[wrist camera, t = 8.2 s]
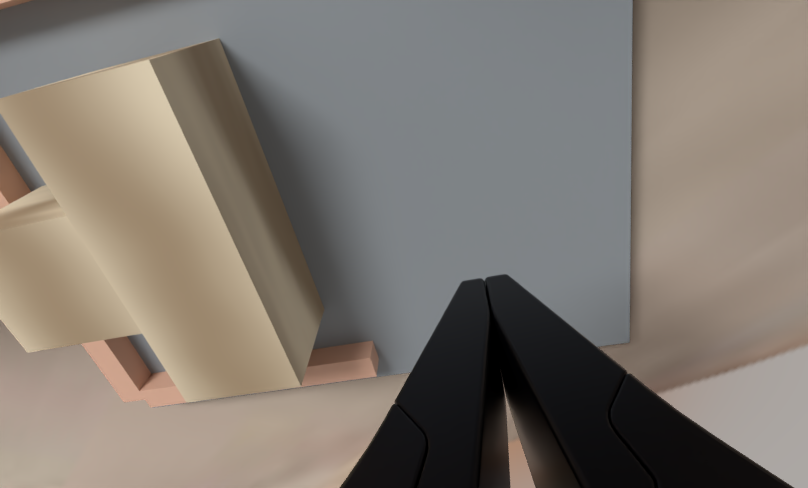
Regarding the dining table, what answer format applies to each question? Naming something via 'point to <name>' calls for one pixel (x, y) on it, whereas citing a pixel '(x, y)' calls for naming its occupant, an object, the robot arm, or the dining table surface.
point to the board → (390, 153)
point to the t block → (157, 227)
